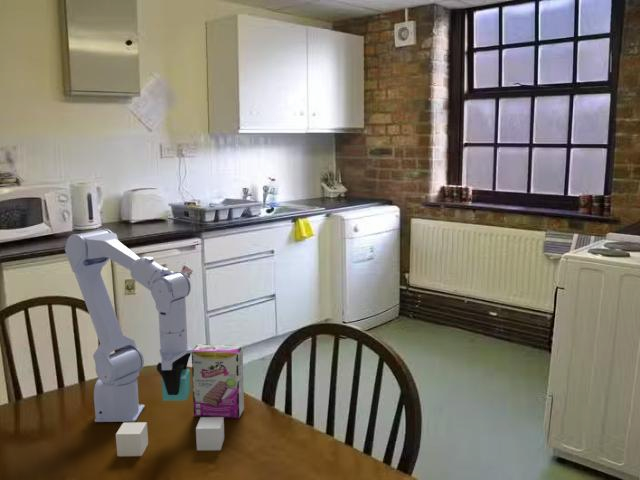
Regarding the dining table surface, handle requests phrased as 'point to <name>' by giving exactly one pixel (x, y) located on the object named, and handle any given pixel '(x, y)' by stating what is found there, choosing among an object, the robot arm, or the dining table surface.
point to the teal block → (183, 390)
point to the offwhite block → (132, 439)
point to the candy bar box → (218, 381)
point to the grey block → (210, 433)
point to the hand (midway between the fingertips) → (176, 388)
